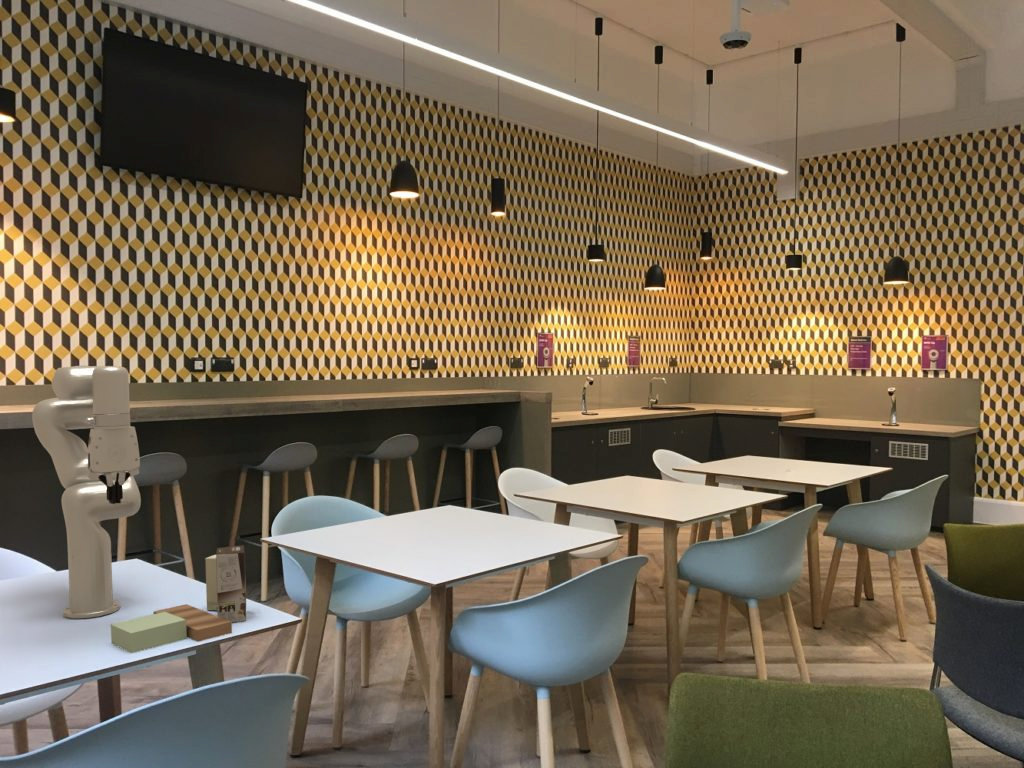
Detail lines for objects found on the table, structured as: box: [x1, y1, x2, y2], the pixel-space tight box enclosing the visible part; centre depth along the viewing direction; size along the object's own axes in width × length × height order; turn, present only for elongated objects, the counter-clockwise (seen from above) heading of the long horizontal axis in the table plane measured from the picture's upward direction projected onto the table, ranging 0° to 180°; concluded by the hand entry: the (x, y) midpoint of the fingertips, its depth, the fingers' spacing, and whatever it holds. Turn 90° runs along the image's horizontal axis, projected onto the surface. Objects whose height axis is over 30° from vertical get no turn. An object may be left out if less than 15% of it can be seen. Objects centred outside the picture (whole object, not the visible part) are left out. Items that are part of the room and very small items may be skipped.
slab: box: [110, 612, 188, 654], centre depth 189 cm, size 10×12×4 cm
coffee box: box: [215, 545, 247, 623], centre depth 205 cm, size 9×6×16 cm
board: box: [152, 603, 233, 643], centre depth 198 cm, size 22×8×3 cm, turn 46°
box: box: [205, 554, 218, 611], centre depth 213 cm, size 5×4×13 cm
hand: (114, 502), depth 196 cm, fingers closed
